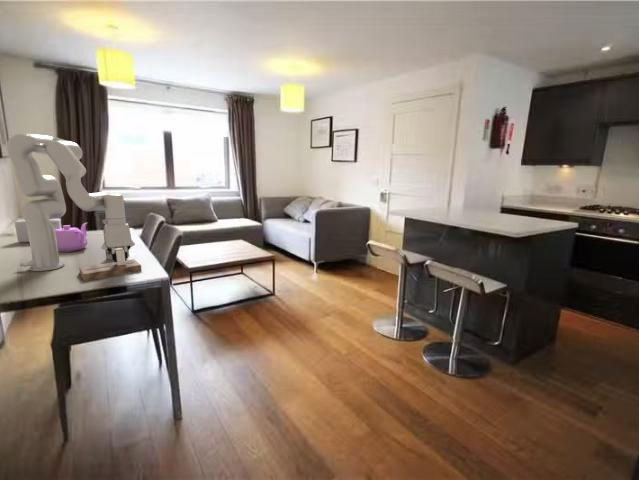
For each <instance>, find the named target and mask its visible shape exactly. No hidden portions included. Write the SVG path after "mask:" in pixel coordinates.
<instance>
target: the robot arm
mask: <svg viewBox="0 0 639 480" xmlns="http://www.w3.org/2000/svg"><path fill="white" fill-rule="evenodd" d="M6 150H7V154H8V157H9V159H10V161H11V163H12V165H13V169H14V173H15V177H16V181H17V184H18V187H19V191H20V192H21V194H23V195H24V196H26V197H30V198H33V197H34V198H36V197H42V198H41V199H33V200H29V201H27V202H24V204H22V206H21V208H20V209H21V210H20V211H21V212H20V213H21V216H22V217H23V220H25V222H26V226H27V230H28V235H29V241H30V242H29V245H30V253H31V259H30V260H28V261H20V262H19V266H20V268H21V267H26V268H27V267H29V270H30V271H31V272H45V271H46V272H47V271H53V270H58V269H60V268H63V267H64V266H65V263H64V262H63V261H61V260H60V255H59V254H60V253H59V251H58V247H57V240H56V234H55V229H54V226H53V225H52V224H51V222H50V221H49V219H60V218H61V217H63V216H64V215H65V214H66V212H67V205H66V201H65V197H64V193H63V190H62V186H61V183H60V182H59V180H58V179H57V178H56V177H54V176H52V175H50V174H42V172H41V168H40V165H39V162H38V161H37V160H36V159H35V158H34V157H33V156H32V155H47V156H48V157H49V159H50V160H51V161H52V162H53V163H54V165H55V167H56V168H57V169H58V171H60V172H61V174H62V175H63V176H64V178H65V186H66V187H65V188H66V192H67V194H68V196H69V198H70V199H71V200H72V201H73V202H74V203H75V205H76V206H77V207H78V208H79V209H80V210H82V211H85V212H93V211H99V210H104V214H105V219H102V220H101V222H102V224H105V225H104V228H103V229H104V232H103V243H102V245H101V249H102V250H104V251H105V250H107V251H109V252H111V253H112V260H111V261H113V262H117V257H116V253H115V247H122V246H123V249H124V253H125V261H127V260H128V257H129V256H127V252H128V250H129V251H130V249H131V248H133V247H134V246H135V245H136V243H135V242H134V240H133V239H132V234H131V229H130V226H129V223H127V220H126V211H125V210H126V209H125V199H124V196H123V194H121V193H107V192H92V193H90V192H88V191H87V190H86V189H85V187H84V185H83V184H82V177H84V176H85V175H86V173H87V168H86V167H85V166H84V164H82V162H81V161H80V160H81V159H82V158H83V150H82V148H81V147H80V145H79V144H78V143H76V142H73V141H71V140H65V139H63V138H59V137H54V136H50V135H45V134H36V133H26V132H23V133H16V134H14V135H11V137H10V138H9V139H8V140H7V143H6ZM104 240H105V241H104ZM106 246H107V247H106ZM108 247H109V248H108Z"/></svg>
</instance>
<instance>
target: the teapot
mask: <svg viewBox="0 0 639 480" xmlns="http://www.w3.org/2000/svg"><path fill="white" fill-rule="evenodd" d="M87 224H88V222H87V221H86V222H84V223H83V224H81V227H80V229H79V227H71V225H70V224H67V225H66V224H65V225H62V228H61V229H55V234H56V240H57V247H58V253H60V252H63V253H65V252H67V253H71V252H73V251H79V250H82V249H85V248H86V247H87V245H88V239H87V235H88V234H87V229H86V227H87ZM70 251H71V252H70Z"/></svg>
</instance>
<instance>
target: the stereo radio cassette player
mask: <svg viewBox="0 0 639 480" xmlns="http://www.w3.org/2000/svg"><path fill="white" fill-rule="evenodd" d="M49 221H50V222H51V224H52V225H53V226H54V229H61V228H63V226H62V222H61V221H62V219H61V218H54V219H49ZM14 227H15V233H16V237H17V241H18V242H19V243H21V242H23V243H30V241H29V235H28V230H27V226H26V222H25V220H24V219H19V220H17V221H15V222H14Z"/></svg>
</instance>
